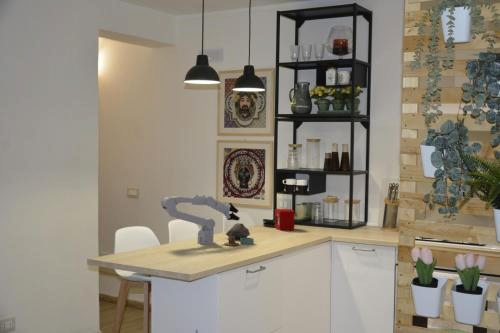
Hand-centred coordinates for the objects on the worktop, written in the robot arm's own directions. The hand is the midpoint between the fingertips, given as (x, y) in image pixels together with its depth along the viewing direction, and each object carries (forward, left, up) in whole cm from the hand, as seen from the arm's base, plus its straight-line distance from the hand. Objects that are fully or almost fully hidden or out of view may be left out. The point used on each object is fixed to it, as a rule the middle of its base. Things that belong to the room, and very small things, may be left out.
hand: (238, 215), depth 383 cm
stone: (+8, +8, -17) cm, 20 cm away
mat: (-13, -8, -17) cm, 23 cm away
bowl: (-3, -10, -17) cm, 20 cm away
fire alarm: (+72, +22, -17) cm, 77 cm away
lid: (-13, -8, -16) cm, 22 cm away
